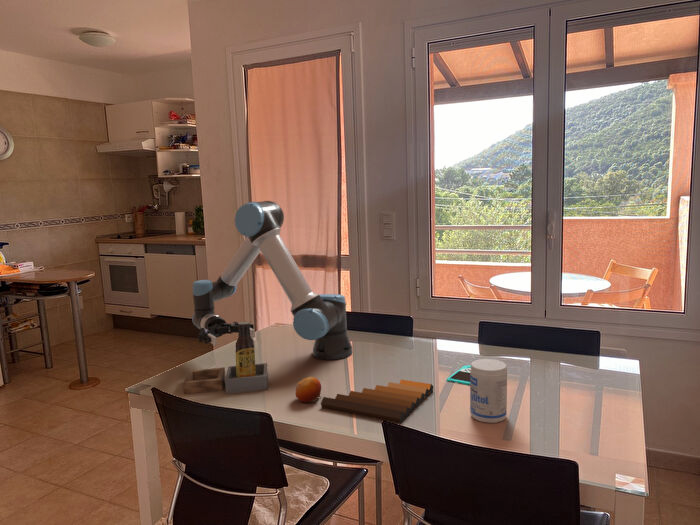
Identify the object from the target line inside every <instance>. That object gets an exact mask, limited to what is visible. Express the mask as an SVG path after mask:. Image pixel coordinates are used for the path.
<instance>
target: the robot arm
mask: <svg viewBox="0 0 700 525" xmlns="http://www.w3.org/2000/svg"><path fill="white" fill-rule="evenodd" d="M284 221H285V215H284V210H283V209H282V207H281V205H279V204H278V203H277V202H274V201H271V200H264V201H249V202H246V203H244V204H242V205H241V206H239V207H238V209H237V211H236V212H235V217H234V226H235V228H236V230H237V232H238V233H239V234H240V235H242V236H244V237H245V239H244V241H243V242H242V243H241V244H240V246H239V247H238V249H237V251H236V252H235V253H234V255H233V256H232V258H231V259H230V261H229V262H228V264H227V265H226V267H225V268H224V270H222V272H221V273H220V275H219V277H218V278H217V279H216V280H215V281H212V280H210V279H201V280H196V281H194V282H193V283H192V291H191V292H192V299H193V309H194V310H193V312H194V313H193V314H192V317H191V318H192V320H191V321H192V323H193V325H194V326H195V327H196V328H197V329H198V330H199V332H198V336H197V337H198V343H202V342H204V344H205V345H206V344H209V343H210V344H212V345H213V346H214V347H216V346H218V340H217V339H218V338H220V337H222V336H223V335H227V334H230V335H231V334H233V333H237V334H239V330H238V323H239V322H238V321H233V322H232V323H227V322H226V320H225V319H224V318H222V317H220V316H219V315H217V314H215V313H216V312H215V302H217V301H220V300H223V299H227V298H229V297H231V296H233V295H234V294H235V293H236V291H237V285H238V284H239V282H240V280H241V279H242V278H243V276H244V275H245V274H246V272H247V271H248V270H249V268H250V267H251V265H252V264H253V263H254V261H255V260H256V259H257V257H258V255H260V253H261V254H262V255H263V256H264V259H265V261H266V262H267V264H268V265H269V267H270V269H271V271H272V272H273V274H274V276H275V277H276V279H277V281H278V283H279V285H280V286H281V288H282V290H283V292H284V294H285V295H286V297H287V299H288V301H290V303H291V307H290V312H291V314H292V315H293V319H292V320H293V321H292V325H293V326H292V327H293V329H294V331H295V332H296V334H297V335H298V336H299V337H301V338H302V339H304V340H307V341H314V343H313V348H312V356H313V357H314V358H316V359H319V360H326V361H327V360H331V361H332V360H340V359H345V358H348V357H350V356H351V355H352V354H353V345H352V343H351V340H350V337H349V334H348V332H347V330H348V328H347V327H348V326H347V325H348V324H347V307H346V306H347V303H346V298H345V296H344V295H343V294H340V293H339V294H338V293H336V294H335V293H325V294H323V293H321V294H319V293H315V292H313V290H312V289H311V287H310V285H309V283H308V282H307V280H306V278H305V276H304V274H303V273H302V271H301V269H300V268H299V266H298V265H297V263H296V261H295V259H294V257H293V256H292V254H291V251H290V250H289V249H288V247H287V246H286V243H285V242H284V240H283V238H282V237H281V235H280V233H281V230H282V229H281V228H282V226H283V224H284ZM254 326H255V325H254V324H252V323H250V336H251V337H252V339H254V338H256V332H255V327H254Z"/></svg>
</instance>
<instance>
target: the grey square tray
mask: <svg viewBox="0 0 700 525" xmlns="http://www.w3.org/2000/svg"><path fill="white" fill-rule="evenodd" d="M226 370H227V371H226V373H225V376H226V377H225V381H224V384H225V394H236V393H245V392H247V393H248V392H257V391H265V390H266V391H267V390H268V387H269V385H268V384H269V382H268V380H269V374H268V373H269V372H268V362H265V363H263V362H262V363H255V371H256V376H251V377H240V378H237V376H236V365H229V366H227V369H226Z"/></svg>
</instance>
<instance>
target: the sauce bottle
mask: <svg viewBox="0 0 700 525" xmlns="http://www.w3.org/2000/svg"><path fill="white" fill-rule="evenodd" d="M250 324H251V322H250V321H240V322H238V330H239V333H238V338H237V340H236V342H235V366H236V376H237V378H240V377H251V376H256V371H255V364H256V353H255V352H256V351H255V348H256V347H255V342H254V338H252V337H251V336H250Z"/></svg>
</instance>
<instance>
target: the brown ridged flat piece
mask: <svg viewBox="0 0 700 525" xmlns="http://www.w3.org/2000/svg"><path fill="white" fill-rule="evenodd" d="M433 392H434V384H432V383H426V382H420V381H419V382H418V381H413V380H408V379H406V380H405V379H400V381H399V383H396V382H391V381H388V383H387V385H386V386H385V385H378V384H376V385H375V387H374V389H373V388H366V387H363V388H362V391H361V392H359V391H354V390H350V391H349V393H348V395H346V394H341V393H340V394H339V393H337V394H336V396H335V398H332V397H327V396H326V397H325V396H323V398H322V400H321V402H320V405H321V408H322V409H325V410H326V409H327V410H330V411H337V412H341V413H347V414H351V415H357V416H360V417H361V416H362V417H366V418H371V419H376V420H381V421H386V420H387V422H391V423H398V424H402V423H403V421H405V419H406V418H408V417H409V416H410V415H411V413H413V412H414V411H415V410H416V409H417V408H418V407H419V406H420V405H421V404H422V403H423V402H424V401H425V400H426V399H427V398H428V397H429V395H431V394H432V393H433Z"/></svg>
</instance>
